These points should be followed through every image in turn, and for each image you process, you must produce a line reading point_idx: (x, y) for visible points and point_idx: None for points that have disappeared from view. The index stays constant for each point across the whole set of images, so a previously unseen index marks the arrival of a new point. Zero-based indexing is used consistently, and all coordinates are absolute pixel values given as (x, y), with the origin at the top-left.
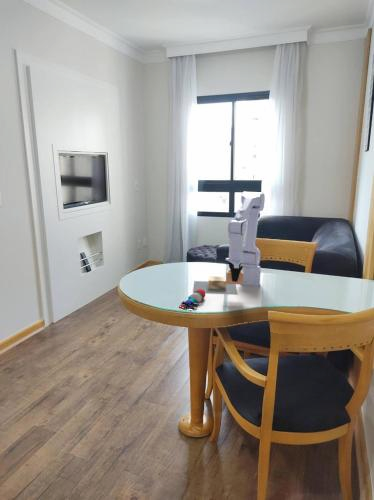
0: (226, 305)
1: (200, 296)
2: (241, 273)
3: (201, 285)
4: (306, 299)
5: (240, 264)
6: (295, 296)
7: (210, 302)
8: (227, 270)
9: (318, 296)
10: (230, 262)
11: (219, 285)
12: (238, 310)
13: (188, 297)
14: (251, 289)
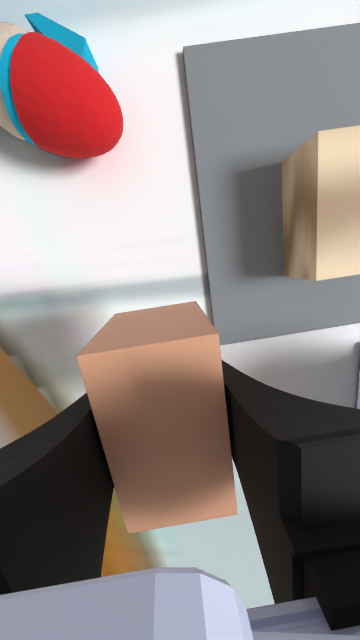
0: (63, 305)
1: (1, 118)
2: (123, 513)
3: (338, 97)
4: (227, 570)
5: (274, 598)
6: (250, 543)
7: (72, 211)
8: (194, 351)
9: (263, 596)
10: (298, 490)
11: (295, 235)
12: (24, 366)
13: (29, 18)
14: (307, 397)
